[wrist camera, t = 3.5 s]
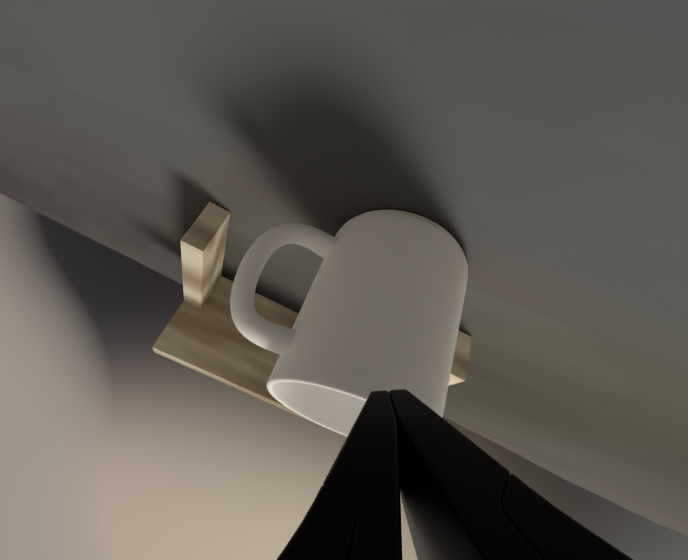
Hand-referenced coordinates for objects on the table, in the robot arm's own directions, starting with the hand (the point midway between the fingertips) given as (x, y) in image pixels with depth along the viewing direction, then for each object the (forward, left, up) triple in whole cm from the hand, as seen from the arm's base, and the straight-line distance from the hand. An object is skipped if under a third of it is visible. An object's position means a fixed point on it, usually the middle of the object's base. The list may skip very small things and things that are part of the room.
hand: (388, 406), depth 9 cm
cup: (+7, -5, -12) cm, 15 cm away
